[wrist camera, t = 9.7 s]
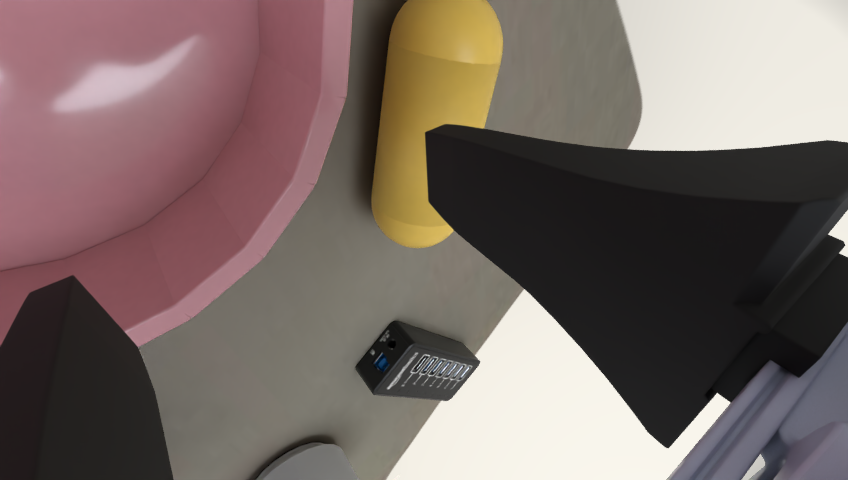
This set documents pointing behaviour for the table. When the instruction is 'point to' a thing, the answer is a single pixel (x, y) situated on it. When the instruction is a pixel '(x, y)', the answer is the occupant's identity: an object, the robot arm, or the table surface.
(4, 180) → the pot
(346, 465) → the can
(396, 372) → the multiport hub
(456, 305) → the table surface
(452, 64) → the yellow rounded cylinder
